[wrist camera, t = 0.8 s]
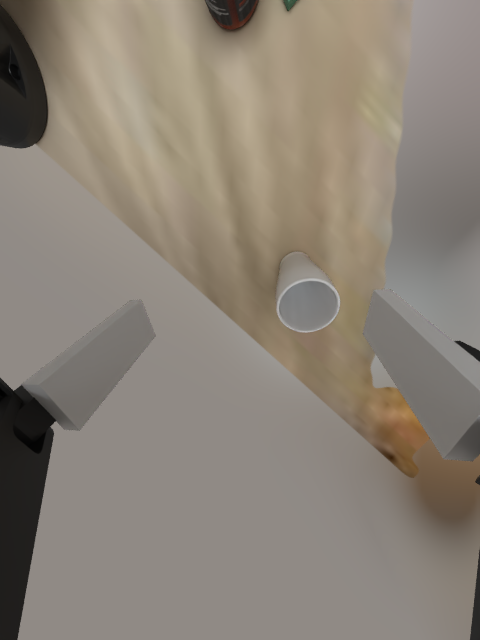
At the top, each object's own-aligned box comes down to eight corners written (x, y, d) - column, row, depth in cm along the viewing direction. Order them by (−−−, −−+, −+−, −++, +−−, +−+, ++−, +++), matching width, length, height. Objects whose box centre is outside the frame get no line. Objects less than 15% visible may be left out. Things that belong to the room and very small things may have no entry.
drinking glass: (276, 246, 33) (277, 277, 21) (319, 245, 32) (348, 277, 20) (273, 285, 37) (274, 332, 24) (312, 285, 36) (334, 335, 23)
